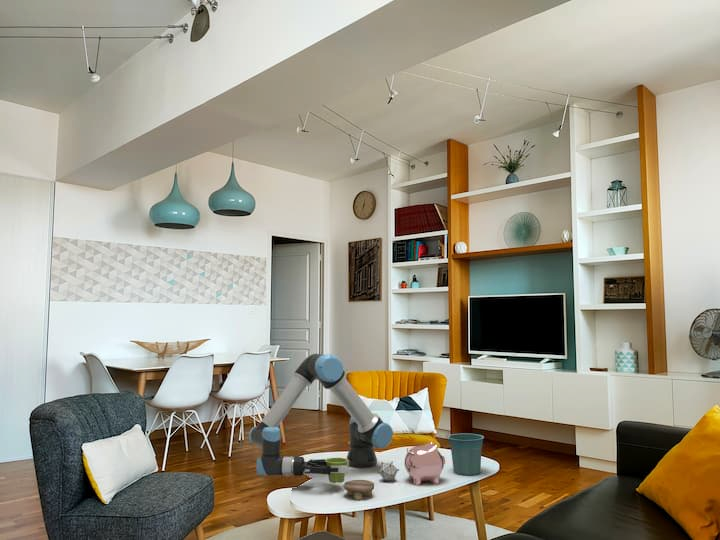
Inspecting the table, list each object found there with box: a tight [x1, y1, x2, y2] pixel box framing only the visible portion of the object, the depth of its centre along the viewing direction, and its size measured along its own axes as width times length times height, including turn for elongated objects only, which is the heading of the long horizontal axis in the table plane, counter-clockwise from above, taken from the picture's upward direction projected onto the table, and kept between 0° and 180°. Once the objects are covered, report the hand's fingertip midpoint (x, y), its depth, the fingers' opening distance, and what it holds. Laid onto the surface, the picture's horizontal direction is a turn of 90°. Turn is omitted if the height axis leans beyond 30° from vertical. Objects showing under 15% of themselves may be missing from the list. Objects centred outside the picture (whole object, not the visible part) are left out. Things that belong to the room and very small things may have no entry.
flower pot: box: [447, 432, 485, 476], centre depth 254 cm, size 16×16×16 cm
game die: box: [377, 461, 400, 483], centre depth 240 cm, size 9×8×10 cm
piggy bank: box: [404, 440, 446, 486], centre depth 240 cm, size 15×18×16 cm
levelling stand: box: [343, 479, 375, 501], centre depth 219 cm, size 12×12×4 cm
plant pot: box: [325, 457, 348, 484], centre depth 229 cm, size 9×9×9 cm
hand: (347, 466), depth 229 cm, fingers closed on plant pot, 8 cm apart
